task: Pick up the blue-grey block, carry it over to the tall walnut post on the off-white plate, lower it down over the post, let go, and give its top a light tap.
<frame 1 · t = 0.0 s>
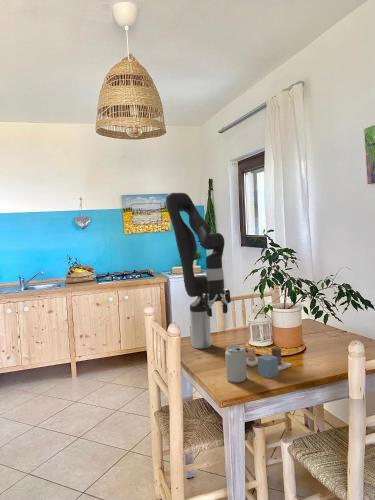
hand: (217, 314, 174), 17 cm above the table, tool pointing down, fingers open, 8 cm apart
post: (276, 365, 156), on the table
blue-grey block: (268, 374, 148), on the table
short post: (251, 361, 162), on the table
can: (236, 380, 145), on the table
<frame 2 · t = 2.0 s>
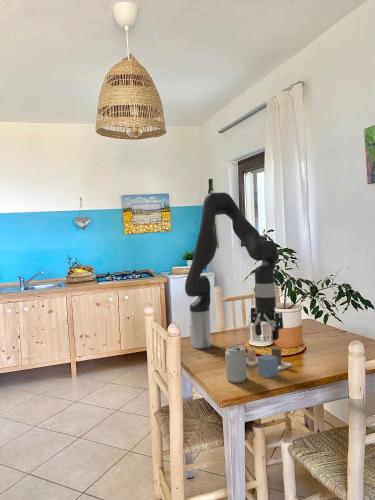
hand: (266, 337, 147), 14 cm above the table, tool pointing down, fingers open, 8 cm apart
nothing on the table moved.
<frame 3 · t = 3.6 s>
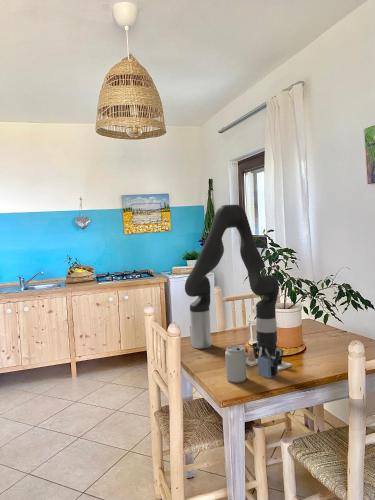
hand: (268, 372, 148), 1 cm above the table, tool pointing down, fingers closed on blue-grey block, 5 cm apart
blue-grey block: (268, 374, 148), on the table, touching gripper
everything else where it was.
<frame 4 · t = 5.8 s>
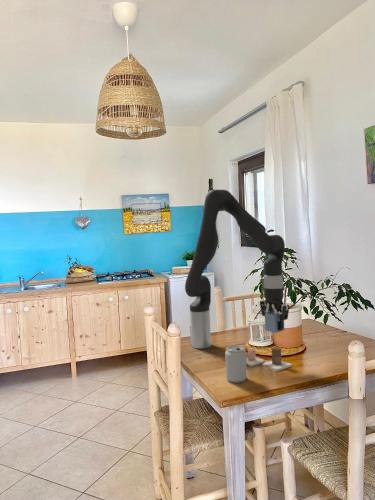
hand: (274, 328, 155), 15 cm above the table, tool pointing down, fingers closed on blue-grey block, 5 cm apart
blue-grey block: (274, 330, 155), point 15 cm above the table, touching gripper
everything else where it was.
when the fingers open (3 cm above the table, at t = 8.1 s): blue-grey block drops 1 cm, resting on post.
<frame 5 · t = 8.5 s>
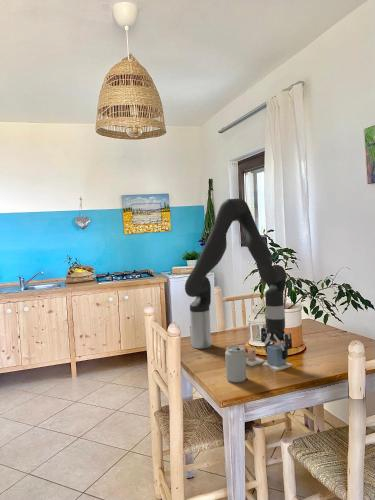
hand: (276, 356, 156), 4 cm above the table, tool pointing down, fingers open, 8 cm apart
blue-grey block: (276, 363, 156), point 1 cm above the table, touching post
everything else where it was.
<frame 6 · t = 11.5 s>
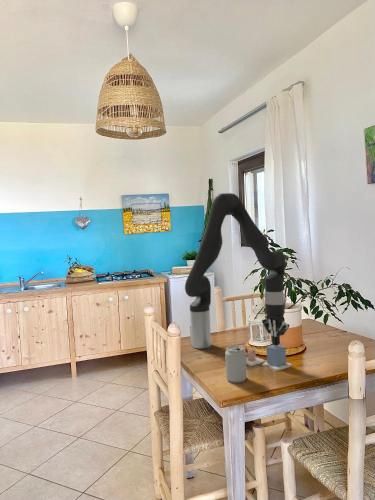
hand: (276, 345, 155), 8 cm above the table, tool pointing down, fingers closed
nothing on the table moved.
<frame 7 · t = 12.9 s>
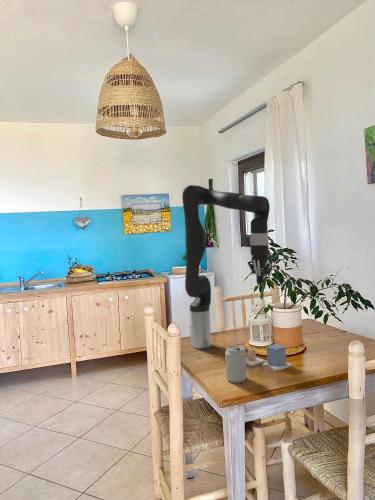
hand: (260, 284, 166), 31 cm above the table, tool pointing down, fingers closed
nothing on the table moved.
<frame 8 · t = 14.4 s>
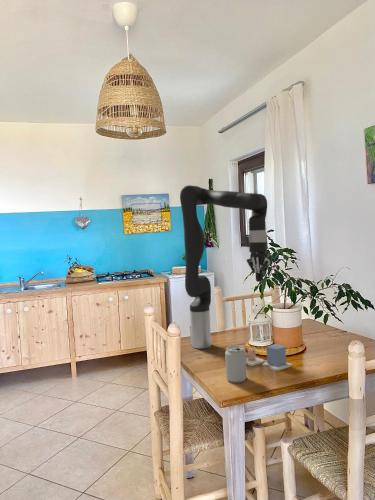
hand: (259, 281, 167), 32 cm above the table, tool pointing down, fingers closed
nothing on the table moved.
at the end: blue-grey block 0.1 cm from the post (horizontally); blue-grey block point 1.0 cm above the table; blue-grey block tilted 0° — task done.
